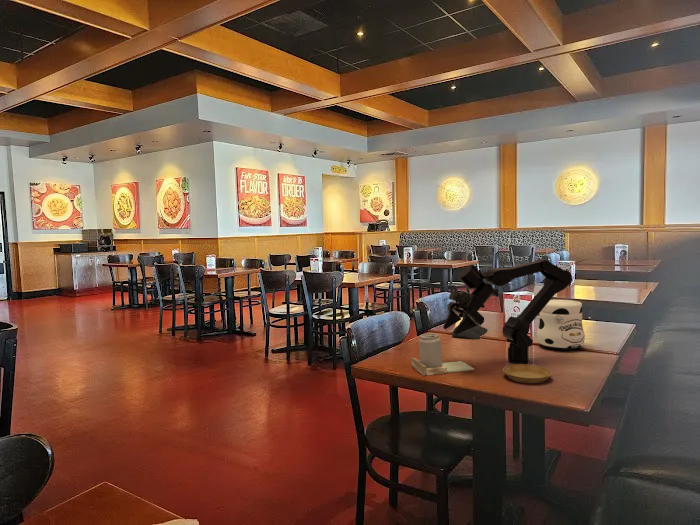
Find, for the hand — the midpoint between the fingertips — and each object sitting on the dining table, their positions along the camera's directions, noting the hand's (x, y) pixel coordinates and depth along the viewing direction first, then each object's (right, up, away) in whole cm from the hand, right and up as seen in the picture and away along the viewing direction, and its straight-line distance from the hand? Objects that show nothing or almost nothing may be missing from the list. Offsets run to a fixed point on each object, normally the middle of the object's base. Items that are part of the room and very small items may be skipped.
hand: (449, 330), depth 169 cm
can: (-6, -13, -1) cm, 15 cm away
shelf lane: (-6, -13, -1) cm, 15 cm away
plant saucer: (+22, -14, -13) cm, 29 cm away
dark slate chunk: (+20, -9, +53) cm, 58 cm away
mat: (+2, -13, +1) cm, 13 cm away
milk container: (+49, -10, +24) cm, 55 cm away
